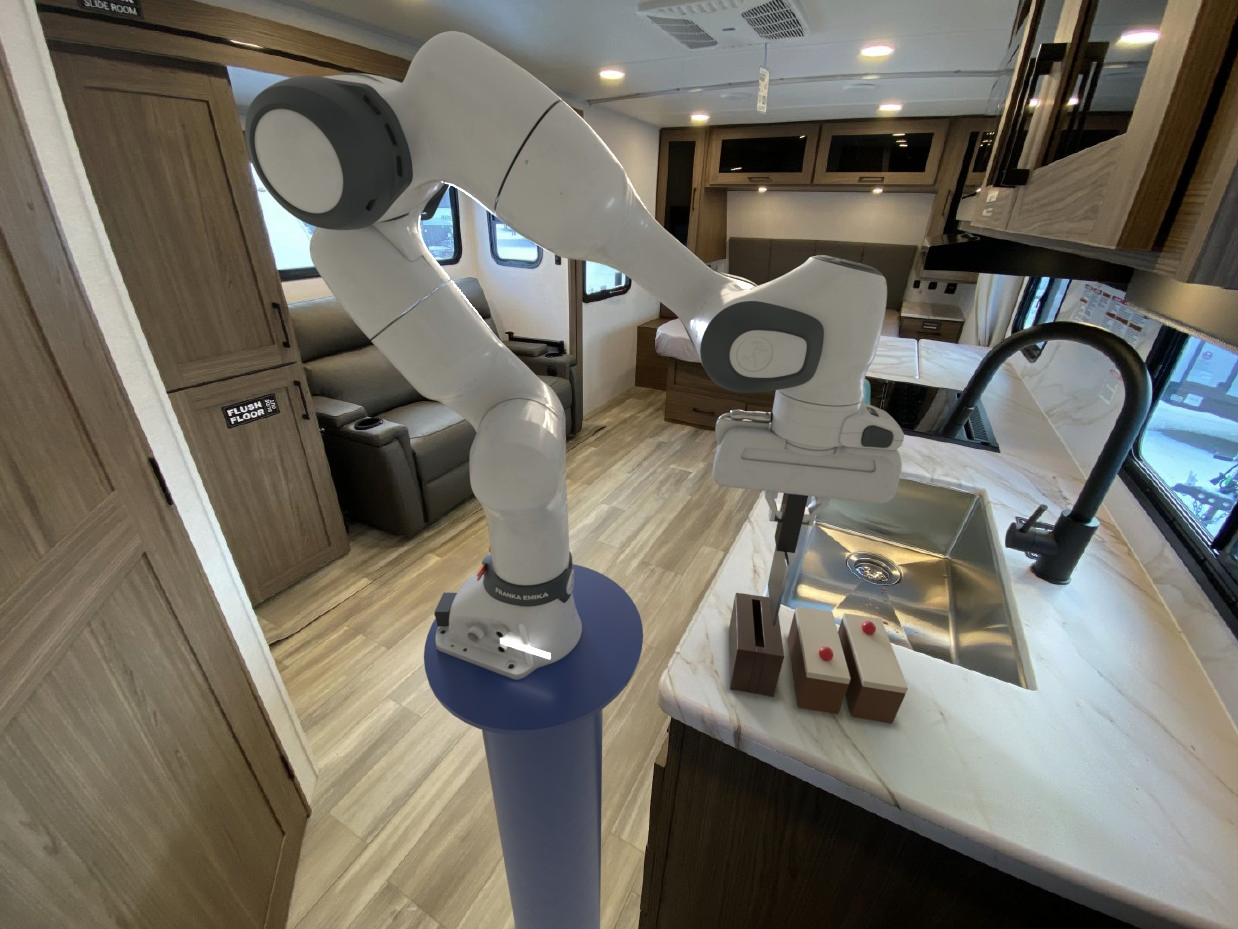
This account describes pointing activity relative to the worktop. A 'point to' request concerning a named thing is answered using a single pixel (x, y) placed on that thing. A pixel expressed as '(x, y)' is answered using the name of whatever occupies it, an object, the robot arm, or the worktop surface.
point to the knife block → (754, 646)
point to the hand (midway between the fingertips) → (790, 521)
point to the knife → (785, 548)
